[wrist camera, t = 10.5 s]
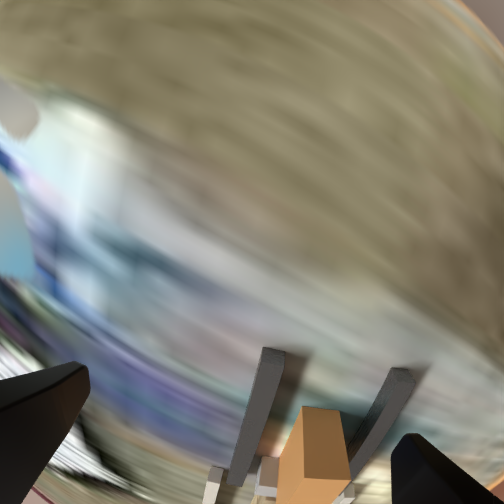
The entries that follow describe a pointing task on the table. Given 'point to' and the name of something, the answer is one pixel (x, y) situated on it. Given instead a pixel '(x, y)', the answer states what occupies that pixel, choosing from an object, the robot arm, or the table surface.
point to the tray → (216, 474)
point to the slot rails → (361, 445)
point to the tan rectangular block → (308, 462)
